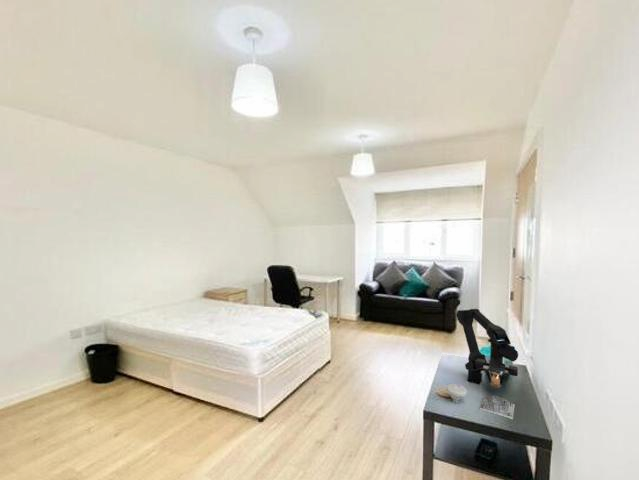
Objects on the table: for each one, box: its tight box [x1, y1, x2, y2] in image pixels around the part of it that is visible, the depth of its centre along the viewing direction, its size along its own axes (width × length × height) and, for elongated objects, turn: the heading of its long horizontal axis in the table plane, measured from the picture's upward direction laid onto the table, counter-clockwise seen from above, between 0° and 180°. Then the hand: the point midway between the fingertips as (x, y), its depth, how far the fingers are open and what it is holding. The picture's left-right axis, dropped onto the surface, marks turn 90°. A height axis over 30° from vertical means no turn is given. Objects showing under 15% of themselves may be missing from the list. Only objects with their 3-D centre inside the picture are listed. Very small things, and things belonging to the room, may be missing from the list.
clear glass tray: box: [479, 395, 516, 420], centre depth 151 cm, size 13×13×3 cm
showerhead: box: [445, 383, 468, 403], centre depth 155 cm, size 9×7×10 cm
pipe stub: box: [490, 372, 502, 389], centre depth 162 cm, size 4×4×6 cm
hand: (495, 383), depth 162 cm, fingers closed on pipe stub, 4 cm apart
